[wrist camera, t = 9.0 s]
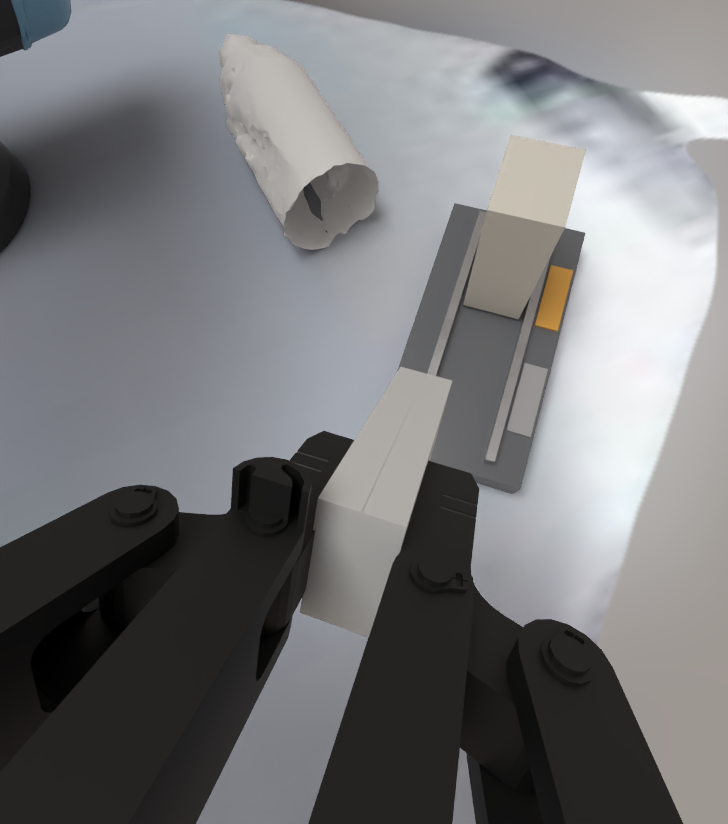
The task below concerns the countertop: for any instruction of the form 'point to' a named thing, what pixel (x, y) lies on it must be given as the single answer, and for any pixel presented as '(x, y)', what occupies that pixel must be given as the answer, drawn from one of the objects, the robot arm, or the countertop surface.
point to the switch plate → (488, 355)
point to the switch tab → (522, 223)
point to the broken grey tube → (293, 143)
